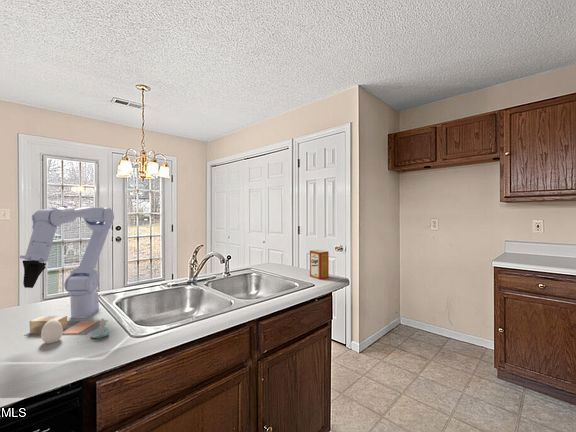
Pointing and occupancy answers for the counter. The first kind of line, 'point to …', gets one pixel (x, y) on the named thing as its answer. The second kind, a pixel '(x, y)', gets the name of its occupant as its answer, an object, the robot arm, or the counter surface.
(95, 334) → the pacifier
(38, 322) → the tan wooden block
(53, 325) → the egg
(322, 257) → the baking soda box
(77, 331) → the terracotta strip
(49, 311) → the counter surface
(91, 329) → the rubber mat
